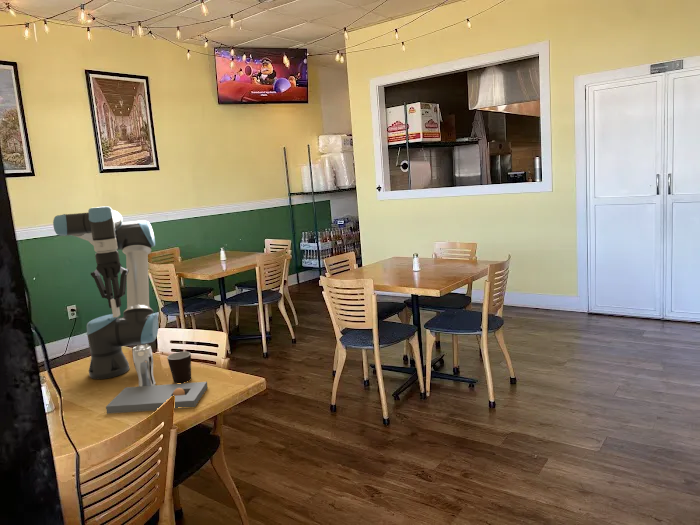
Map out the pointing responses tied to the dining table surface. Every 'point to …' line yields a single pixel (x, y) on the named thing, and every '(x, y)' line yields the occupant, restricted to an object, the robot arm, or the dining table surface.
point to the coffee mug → (180, 366)
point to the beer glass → (144, 364)
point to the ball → (178, 392)
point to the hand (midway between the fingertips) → (116, 316)
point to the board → (155, 397)
